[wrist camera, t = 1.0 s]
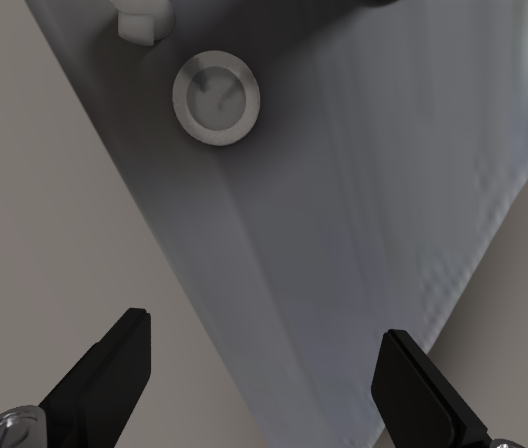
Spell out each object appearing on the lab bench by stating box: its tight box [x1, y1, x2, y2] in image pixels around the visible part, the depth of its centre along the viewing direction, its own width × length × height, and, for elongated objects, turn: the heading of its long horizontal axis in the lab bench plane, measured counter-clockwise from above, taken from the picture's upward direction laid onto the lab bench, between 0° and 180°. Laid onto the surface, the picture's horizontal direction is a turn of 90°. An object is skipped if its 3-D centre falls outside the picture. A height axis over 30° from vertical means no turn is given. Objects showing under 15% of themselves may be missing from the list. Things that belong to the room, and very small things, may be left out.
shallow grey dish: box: [173, 50, 260, 146], centre depth 31 cm, size 10×10×2 cm
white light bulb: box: [109, 0, 175, 46], centre depth 27 cm, size 6×5×6 cm
